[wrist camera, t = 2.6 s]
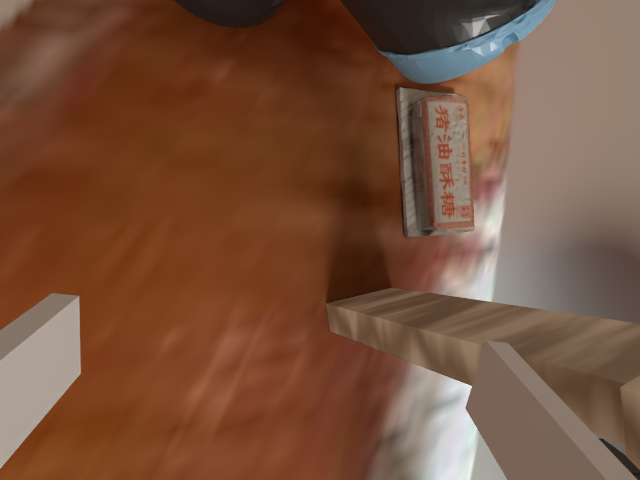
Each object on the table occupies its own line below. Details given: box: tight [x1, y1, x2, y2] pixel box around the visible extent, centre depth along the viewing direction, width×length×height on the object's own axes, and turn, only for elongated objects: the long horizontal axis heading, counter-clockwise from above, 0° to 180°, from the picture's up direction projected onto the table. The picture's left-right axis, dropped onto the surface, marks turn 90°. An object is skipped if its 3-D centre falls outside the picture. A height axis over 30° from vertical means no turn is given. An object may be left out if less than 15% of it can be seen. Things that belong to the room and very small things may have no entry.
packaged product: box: [396, 87, 475, 237], centre depth 48 cm, size 18×5×10 cm
